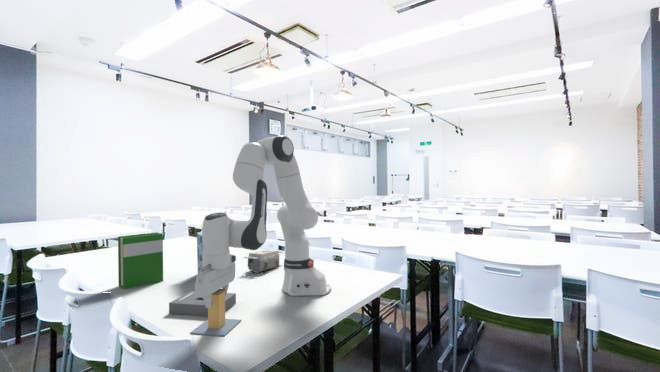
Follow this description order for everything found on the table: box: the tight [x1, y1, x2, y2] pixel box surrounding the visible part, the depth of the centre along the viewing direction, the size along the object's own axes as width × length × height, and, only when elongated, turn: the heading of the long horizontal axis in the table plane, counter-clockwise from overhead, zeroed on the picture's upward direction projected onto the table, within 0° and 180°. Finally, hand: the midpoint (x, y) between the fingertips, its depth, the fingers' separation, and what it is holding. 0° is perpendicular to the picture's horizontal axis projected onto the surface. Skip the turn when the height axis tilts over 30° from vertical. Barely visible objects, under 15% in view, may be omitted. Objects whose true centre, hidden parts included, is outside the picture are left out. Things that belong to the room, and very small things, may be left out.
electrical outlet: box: [243, 249, 283, 273], centre depth 188 cm, size 12×28×10 cm, turn 157°
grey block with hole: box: [168, 290, 237, 317], centre depth 128 cm, size 20×14×4 cm
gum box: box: [196, 231, 203, 273], centre depth 170 cm, size 19×5×23 cm, turn 31°
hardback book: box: [117, 232, 164, 290], centre depth 161 cm, size 18×7×24 cm, turn 139°
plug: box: [207, 288, 226, 329], centre depth 111 cm, size 4×4×12 cm
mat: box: [189, 318, 242, 337], centre depth 110 cm, size 12×12×1 cm
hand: (216, 302), depth 110 cm, fingers open, 8 cm apart
